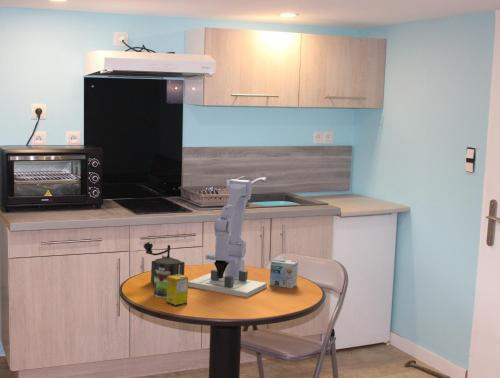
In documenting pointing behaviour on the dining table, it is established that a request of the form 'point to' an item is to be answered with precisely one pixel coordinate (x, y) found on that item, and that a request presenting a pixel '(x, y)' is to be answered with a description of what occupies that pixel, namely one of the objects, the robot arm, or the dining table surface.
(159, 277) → the coffee can
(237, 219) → the robot arm
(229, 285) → the handle
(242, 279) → the handle
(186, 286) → the supplement box
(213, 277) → the dark gray block
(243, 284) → the breaker board
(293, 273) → the light bulb box
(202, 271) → the dining table surface
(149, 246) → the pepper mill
